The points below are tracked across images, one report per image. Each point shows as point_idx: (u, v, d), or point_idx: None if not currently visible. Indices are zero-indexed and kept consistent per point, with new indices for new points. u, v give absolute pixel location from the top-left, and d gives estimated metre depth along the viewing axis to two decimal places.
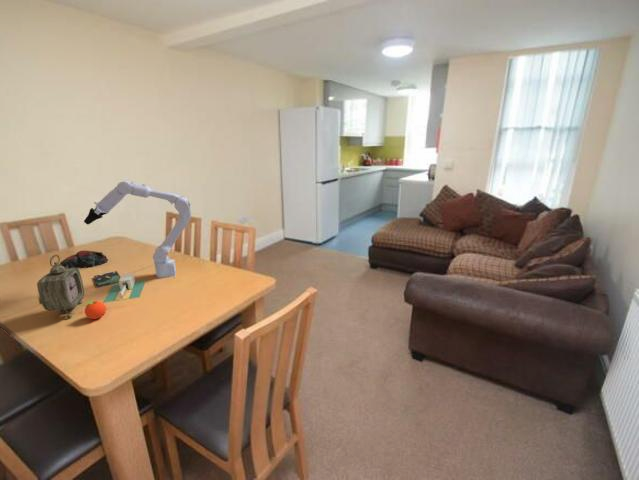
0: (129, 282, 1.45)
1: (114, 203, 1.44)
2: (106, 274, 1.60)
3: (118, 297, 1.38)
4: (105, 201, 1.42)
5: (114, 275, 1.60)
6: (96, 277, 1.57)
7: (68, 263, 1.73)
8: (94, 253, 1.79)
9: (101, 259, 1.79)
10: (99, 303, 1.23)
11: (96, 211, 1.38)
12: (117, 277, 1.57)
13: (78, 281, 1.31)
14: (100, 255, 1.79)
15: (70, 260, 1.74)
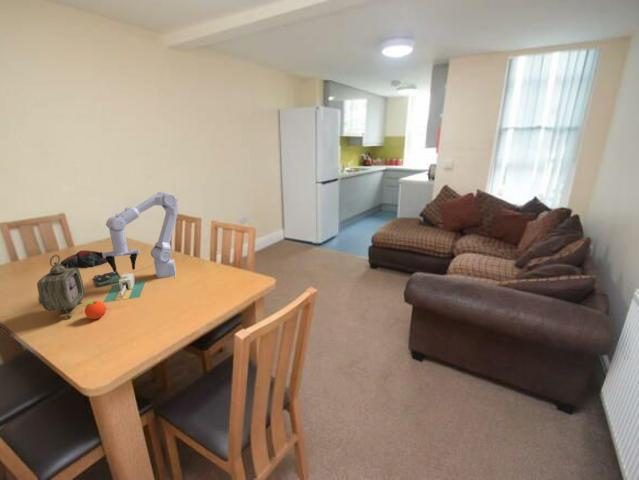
0: (129, 282, 1.45)
1: (125, 240, 1.43)
2: (106, 274, 1.60)
3: (118, 297, 1.38)
4: (125, 244, 1.43)
5: (114, 275, 1.60)
6: (96, 277, 1.57)
7: (68, 263, 1.74)
8: (94, 253, 1.79)
9: (101, 259, 1.79)
10: (99, 303, 1.23)
11: (138, 252, 1.47)
12: (117, 277, 1.57)
13: (78, 281, 1.31)
14: (100, 255, 1.79)
15: (70, 260, 1.74)
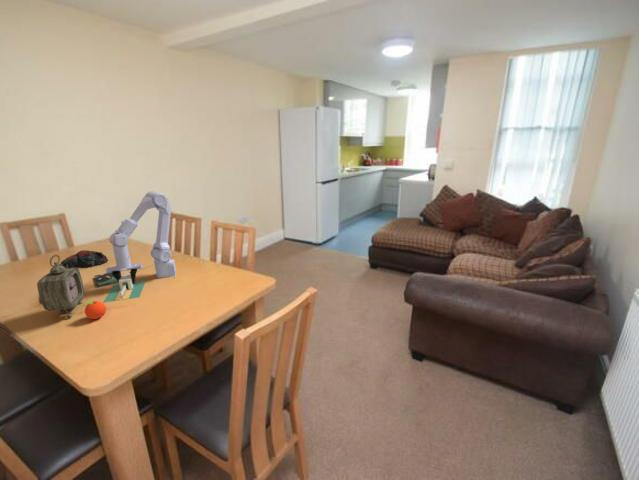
0: (129, 282, 1.45)
1: (128, 256, 1.45)
2: (107, 274, 1.61)
3: (118, 297, 1.38)
4: (128, 259, 1.45)
5: None
6: (97, 277, 1.57)
7: (68, 263, 1.74)
8: (94, 253, 1.79)
9: (101, 259, 1.79)
10: (99, 303, 1.23)
11: (141, 266, 1.49)
12: None
13: (78, 281, 1.31)
14: (100, 255, 1.79)
15: (70, 260, 1.74)
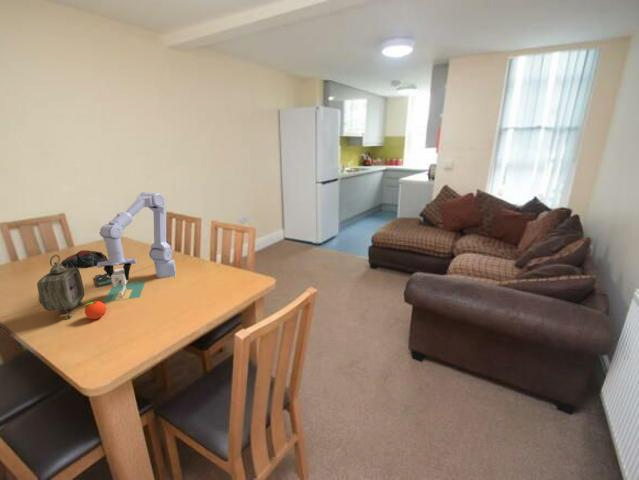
0: (122, 277, 1.35)
1: None
2: (107, 274, 1.61)
3: (118, 297, 1.38)
4: (121, 253, 1.35)
5: None
6: (97, 277, 1.57)
7: (68, 263, 1.74)
8: (94, 253, 1.79)
9: (101, 259, 1.79)
10: (99, 303, 1.23)
11: (136, 261, 1.39)
12: None
13: (78, 281, 1.31)
14: (100, 255, 1.79)
15: (70, 260, 1.74)
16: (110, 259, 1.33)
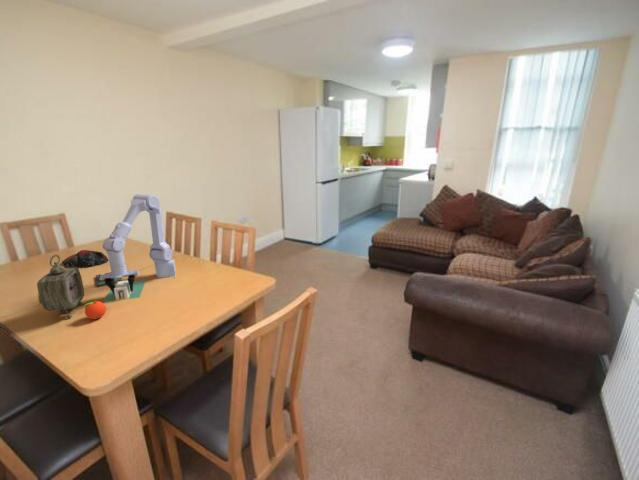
0: (125, 290, 1.37)
1: (124, 261, 1.38)
2: None
3: None
4: (124, 266, 1.37)
5: None
6: (97, 276, 1.57)
7: (68, 262, 1.74)
8: (94, 253, 1.79)
9: (101, 259, 1.79)
10: (99, 303, 1.23)
11: (138, 273, 1.40)
12: None
13: (78, 281, 1.31)
14: (100, 255, 1.79)
15: (70, 259, 1.75)
16: (113, 272, 1.35)
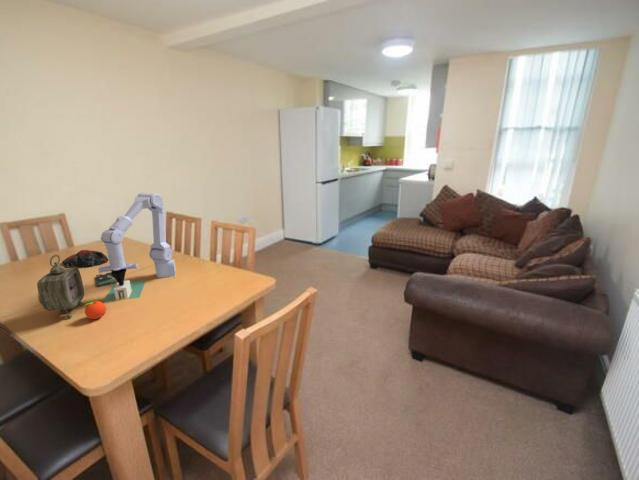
0: (125, 290, 1.37)
1: (123, 254, 1.37)
2: (108, 273, 1.61)
3: None
4: (122, 258, 1.36)
5: None
6: (98, 276, 1.58)
7: (68, 262, 1.74)
8: (94, 253, 1.79)
9: (101, 259, 1.79)
10: (99, 303, 1.23)
11: (136, 266, 1.39)
12: None
13: (78, 281, 1.31)
14: (100, 255, 1.79)
15: (71, 259, 1.75)
16: (111, 264, 1.34)
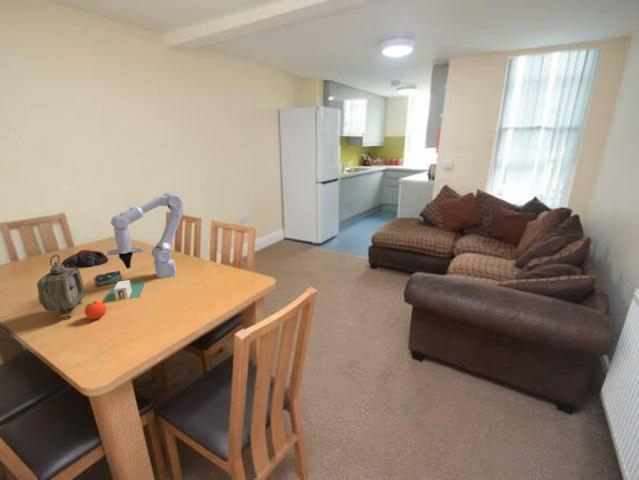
0: (125, 290, 1.37)
1: (128, 239, 1.46)
2: (108, 273, 1.61)
3: None
4: (129, 242, 1.46)
5: (116, 275, 1.60)
6: (98, 276, 1.58)
7: (69, 262, 1.75)
8: (94, 253, 1.79)
9: (101, 259, 1.79)
10: (99, 303, 1.23)
11: (142, 250, 1.50)
12: (118, 277, 1.57)
13: (78, 281, 1.31)
14: (100, 255, 1.79)
15: (71, 259, 1.75)
16: (119, 248, 1.44)
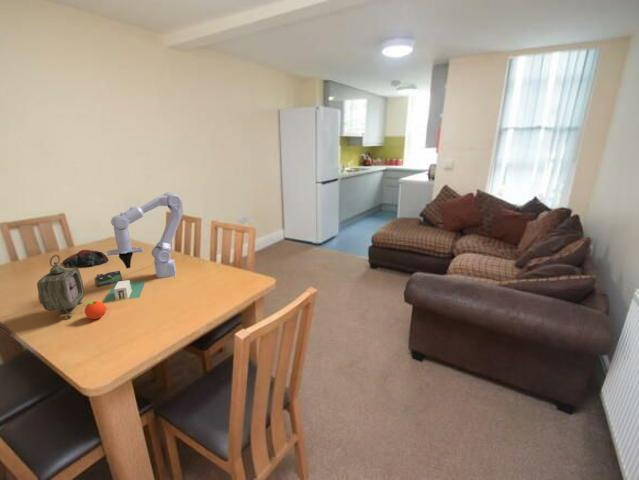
0: (125, 290, 1.37)
1: (128, 239, 1.46)
2: (109, 273, 1.61)
3: None
4: (129, 242, 1.46)
5: (116, 275, 1.60)
6: (98, 276, 1.58)
7: (69, 262, 1.75)
8: (94, 253, 1.79)
9: (101, 259, 1.79)
10: (99, 303, 1.23)
11: (142, 250, 1.50)
12: (118, 277, 1.57)
13: (78, 281, 1.31)
14: (100, 255, 1.79)
15: (71, 259, 1.75)
16: (119, 248, 1.44)
